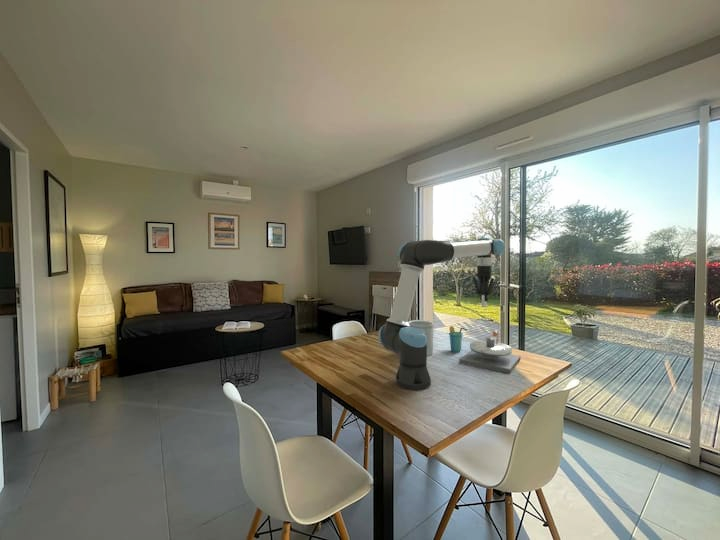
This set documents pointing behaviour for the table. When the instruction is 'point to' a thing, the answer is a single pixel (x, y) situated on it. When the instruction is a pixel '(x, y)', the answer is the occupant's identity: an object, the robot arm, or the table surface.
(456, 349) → the cup
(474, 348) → the handwheel
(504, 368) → the stand
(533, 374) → the table surface
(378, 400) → the table surface
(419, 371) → the robot arm
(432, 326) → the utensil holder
